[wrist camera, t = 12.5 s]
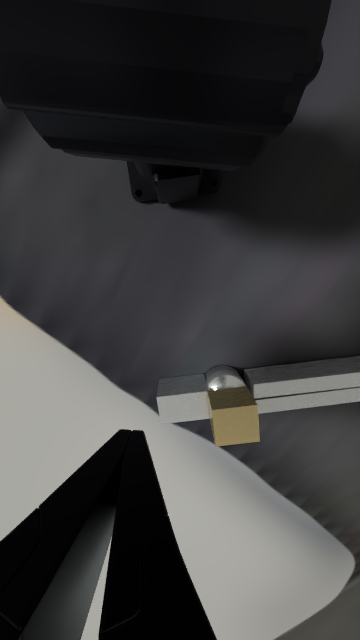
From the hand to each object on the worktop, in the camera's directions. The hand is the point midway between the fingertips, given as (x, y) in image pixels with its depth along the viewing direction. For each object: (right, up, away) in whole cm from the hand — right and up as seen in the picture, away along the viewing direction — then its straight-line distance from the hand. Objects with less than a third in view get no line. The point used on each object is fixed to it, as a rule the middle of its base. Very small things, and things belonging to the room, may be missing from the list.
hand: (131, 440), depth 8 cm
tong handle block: (+4, -2, +13) cm, 13 cm away
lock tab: (+5, -2, +10) cm, 11 cm away
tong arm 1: (+15, +1, +12) cm, 19 cm away
